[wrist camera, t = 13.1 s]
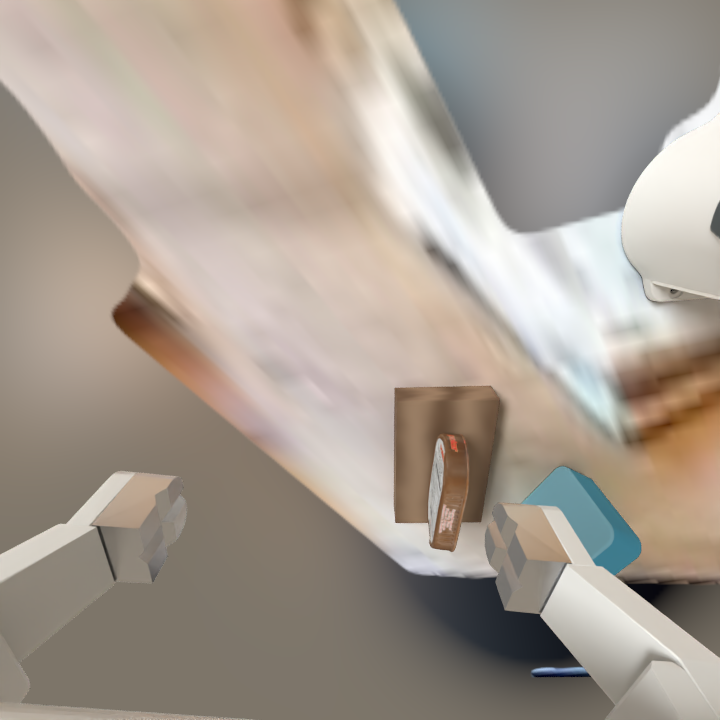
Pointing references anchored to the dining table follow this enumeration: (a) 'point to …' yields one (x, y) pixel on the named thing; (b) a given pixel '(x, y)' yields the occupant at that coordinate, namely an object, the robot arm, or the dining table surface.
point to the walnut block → (418, 439)
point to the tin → (447, 490)
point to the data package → (589, 518)
